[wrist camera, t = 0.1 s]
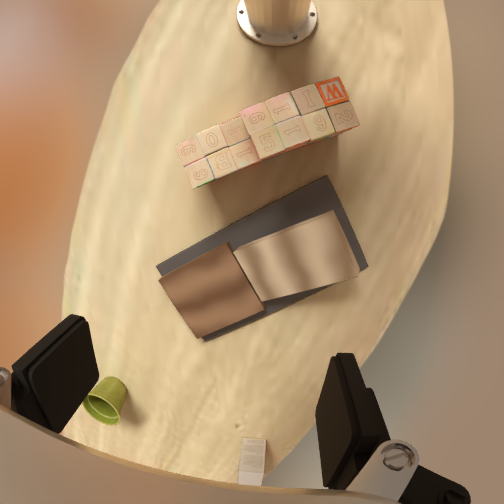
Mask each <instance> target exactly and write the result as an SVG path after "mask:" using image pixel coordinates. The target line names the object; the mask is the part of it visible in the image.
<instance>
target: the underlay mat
mask: <svg viewBox="0 0 504 504" xmlns="http://www.w3.org/2000/svg"><path fill="white" fill-rule="evenodd" d="M331 210H334V212H335V214H336V217H337V219H338V221H339V223H340V225H341V227H342V230H343V232H344V234H345V236H346V238H347V241H348V243H349V245H350V247H351V250H352V252H353V254H354V257H355V259H356V261H357V264H358V266H359V268H360V270H359V271H361V270H363V269H365V268H366V267H368V264H367V262H366V259H365V257H364V255H363V252H362V250H361V247H360V245H359V243H358V240H357V238H356V236H355V233H354V231H353V229H352V227H351V224H350V222H349V220H348V218H347V216H346V213H345V211H344V209H343V207H342V205H341V203H340V201H339V199H338V196H337V194H336V192H335V190H334V188H333V186H332V184H331V182H330V180H329V178H328V176H327V175H326V176H324V177H322V178H320V179H318V180H316V181H314V182H312V183H310V184H308V185H306V186H304V187H302V188H300V189H298V190H297V191H295V192H293V193H291V194H289V195H287V196H285V197H283V198H281V199H279V200H277V201H275V202H273V203H271V204H269V205H267V206H265V207H264V208H262V209H260V210H258V211H256V212H254V213H252V214H250V215H248V216H246V217H244V218H243V219H241V220H239V221H237V222H235V223H233V224H231V225H229V226H228V227H226V228H224V229H222V230H220V231H218V232H216V233H215V234H213V235H211V236H209V237H207V238H205V239H204V240H202V241H200V242H198V243H196V244H194V245H193V246H191V247H189V248H187V249H185V250H184V251H182V252H180V253H178V254H176V255H175V256H173V257H171V258H169V259H167V260H166V261H164V262H162V263H160V264H159V265H157V266H156V268H157V269H158V271H159V272H160V274H161V276H164V275H166V274H168V273H169V272H171V271H173V270H175V269H177V268H179V267H181V266H182V265H184V264H186V263H188V262H190V261H192V260H194V259H195V258H197V257H199V256H201V255H203V254H205V253H207V252H209V251H211V250H212V249H214V248H216V247H218V246H220V245H222V244H224V243H226V242H228V241H229V243H230V244H231V246H232V248H233V250H234V251H235V250H236V249H237V248H238V247H240V246H242V245H245V244H247V243H250V242H252V241H255V240H257V239H260V238H262V237H265V236H267V235H270V234H273V233H275V232H278V231H280V230H283V229H285V228H288V227H290V226H293V225H295V224H298V223H301V222H303V221H306V220H308V219H311V218H313V217H316V216H319V215H321V214H324V213H326V212H329V211H331ZM336 283H337V282H336ZM333 284H335V283H333ZM333 284H329V285H325V286H322V287H318V288H314V289H310V290H306V291H302V292H298V293H295V294H291V295H287V296H283V297H278V298H274V299H270V300H266V301H263V302H264V303H265V310H263V311H260V312H258V313H256V314H254V315H251V316H249V317H247V318H245V319H242V320H240V321H238V322H235V323H233V324H231V325H229V326H226V327H224V328H221V329H219V330H217V331H214V332H212V333H210V334H207V335H205V336H202V338H203V339H204V341H208V340H210V339H213V338H215V337H217V336H220V335H222V334H225V333H227V332H229V331H232V330H234V329H237V328H239V327H241V326H244V325H246V324H248V323H251V322H253V321H255V320H257V319H260V318H262V317H264V316H266V315H269V314H271V313H273V312H275V311H278V310H280V309H282V308H284V307H286V306H289V305H291V304H293V303H295V302H297V301H299V300H301V299H304V298H306V297H308V296H310V295H312V294H314V293H316V292H318V291H320V290H322V289H324V288H327V287H329V286H331V285H333Z"/></svg>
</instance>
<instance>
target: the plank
mask: <svg viewBox="0 0 504 504" xmlns="http://www.w3.org/2000/svg"><path fill="white" fill-rule="evenodd" d="M233 253H234V255H235V256H236V258H237V260H238V262H239V263H240V265H241V267H242V268H243V270H244V272H245V274H246V275H247V277H248V279H249V281H250V282H251V284H252V286H253V287H254V289H255V291H256V293H257V294H258V296H259V298H260V299H261V301H266V300H270V299H274V298H278V297H283V296H287V295H291V294H295V293H298V292H302V291H306V290H310V289H314V288H318V287H322V286H325V285H329V284H333V283H336V282H340V281H344V280H347V279H351V278H354V277H358V274H359V270H360V268H359V266H358V264H357V261H356V259H355V257H354V254H353V252H352V250H351V247H350V245H349V243H348V241H347V238H346V236H345V234H344V232H343V230H342V227H341V225H340V223H339V221H338V219H337V217H336V214H335V212H334V210H331V211H329V212H326V213H324V214H321V215H319V216H316V217H313V218H311V219H308V220H306V221H303V222H301V223H298V224H295V225H293V226H290V227H288V228H285V229H283V230H280V231H278V232H275V233H273V234H270V235H267V236H265V237H262V238H260V239H257V240H255V241H252V242H250V243H247V244H245V245H242V246H240V247H238V248H237V249H236V250H235V251H234V252H233Z"/></svg>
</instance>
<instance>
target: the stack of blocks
mask: <svg viewBox="0 0 504 504" xmlns="http://www.w3.org/2000/svg"><path fill="white" fill-rule="evenodd" d="M239 113H240V116H239V117H237V118H234V119H232V120H229V121H227V122H225V123H222V124H220V125H216V126H213V127H211V128H209V129H206V130H204V131H202V132H200V133H198V134H196V136H194V137H191V138H189V139H187V140H185V141H183V142H181V143H179V144H177V145H175V147H176V150H177V152H178V155H179V157H180V159H181V162H182V164H183V166H184V168H185V171H186V173H187V175H188V178H189V180H190V183H191V185H192V187H193V189H194V188H197V187H200V186H202V185H204V184H207V183H209V182H211V181H214V180H216V179H219V178H221V177H224V176H227V175H229V174H232V173H234V172H236V171H239V170H241V169H244V168H247V167H249V166H252V165H254V164H257V163H259V162H262V161H264V160H266V159H269V158H271V157H274V156H277V155H280V154H282V153H285V152H287V151H290V150H293V149H296V148H299V147H303V146H306V145H309V144H312V143H315V142H318V141H322V140H325V139H328V138H331V137H334V136H337V135H339V134H341V133H343V132H345V131H348V130H350V129H352V128H354V127H357V126H359V125H360V124H359V121H358V119H357V116H356V114H355V111H354V109H353V106H352V104H351V102H350V101H349V97H348V95H347V92H346V90H345V88H344V86H343V84H342V81H341V79H340V78H339V77H335V78H332V79H328V80H325V81H321V82H318V83H316V84H310V85H307V86H304V87H301V88H298V89H296V90H293V91H291V92H285V93H283V94H280V95H277V96H275V97H272V98H270V99H267V100H265V101H264V102H260V103H258V104H255V105H253V106H250V107H248V108H246V109H243V110H241V111H239Z"/></svg>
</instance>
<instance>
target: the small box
mask: <svg viewBox="0 0 504 504" xmlns="http://www.w3.org/2000/svg"><path fill="white" fill-rule="evenodd" d="M265 454H266V439H257V438H247V437H243V440H242V448H241V455H240V462H239V469H238V480H237V484H243V485H253V486H262V482H263V477H264V472H265Z"/></svg>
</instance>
